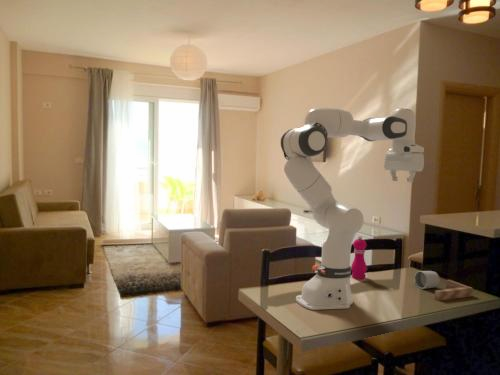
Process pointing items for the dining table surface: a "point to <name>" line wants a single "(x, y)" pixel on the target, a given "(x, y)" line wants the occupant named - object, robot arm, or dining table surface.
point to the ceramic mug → (426, 279)
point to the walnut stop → (453, 291)
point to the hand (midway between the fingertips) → (402, 181)
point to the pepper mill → (359, 259)
